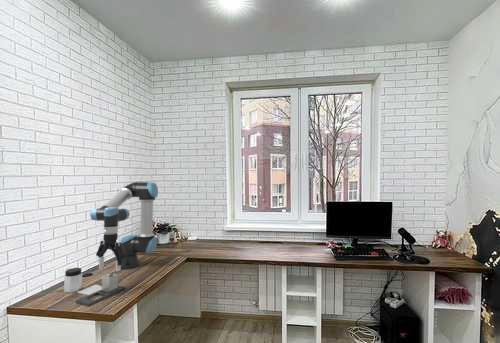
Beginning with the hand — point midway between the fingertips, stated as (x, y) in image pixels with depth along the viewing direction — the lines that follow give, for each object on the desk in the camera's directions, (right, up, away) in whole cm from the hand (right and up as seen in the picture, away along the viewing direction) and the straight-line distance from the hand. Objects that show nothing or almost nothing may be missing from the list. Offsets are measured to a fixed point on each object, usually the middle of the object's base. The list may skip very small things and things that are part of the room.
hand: (109, 269), depth 158 cm
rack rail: (-2, -13, -5) cm, 14 cm away
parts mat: (-12, -14, +3) cm, 18 cm away
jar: (-24, -14, +3) cm, 27 cm away
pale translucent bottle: (0, -14, 0) cm, 14 cm away
